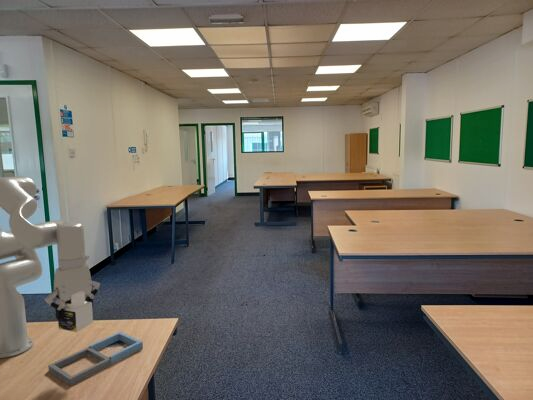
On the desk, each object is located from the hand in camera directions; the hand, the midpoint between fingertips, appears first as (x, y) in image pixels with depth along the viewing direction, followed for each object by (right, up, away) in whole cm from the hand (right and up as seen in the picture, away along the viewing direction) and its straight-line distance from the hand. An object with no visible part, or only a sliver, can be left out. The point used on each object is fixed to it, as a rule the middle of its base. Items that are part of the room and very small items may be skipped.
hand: (75, 315), depth 116 cm
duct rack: (+4, -17, +7) cm, 19 cm away
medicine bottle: (0, -4, 0) cm, 4 cm away
